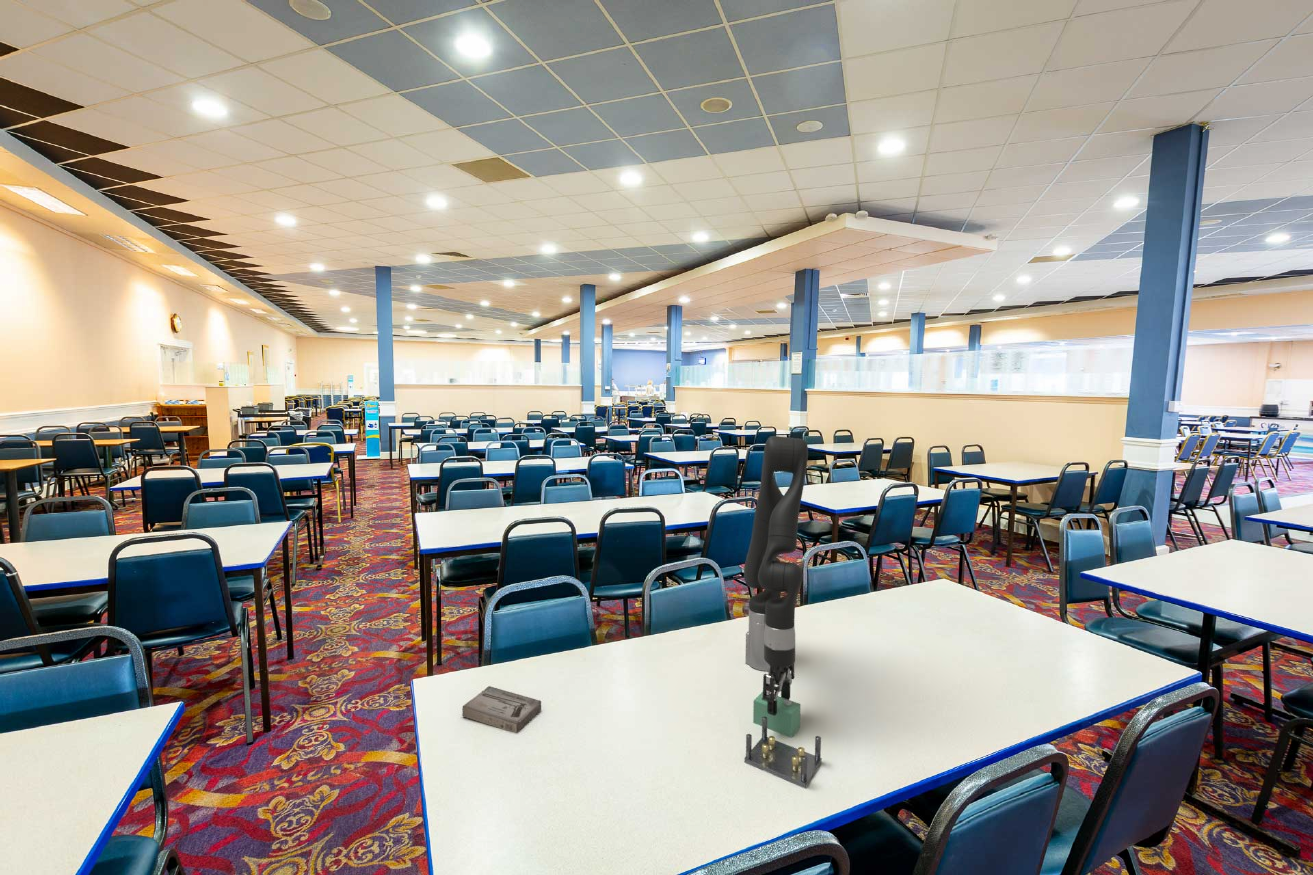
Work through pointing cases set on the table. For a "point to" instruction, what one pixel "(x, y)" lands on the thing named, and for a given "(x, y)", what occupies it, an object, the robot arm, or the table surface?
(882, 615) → the table surface
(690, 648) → the table surface
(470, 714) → the box
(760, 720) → the module block
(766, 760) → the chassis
